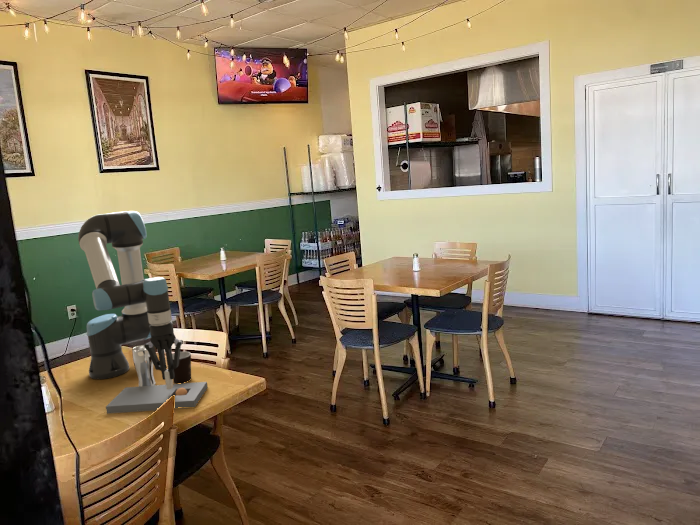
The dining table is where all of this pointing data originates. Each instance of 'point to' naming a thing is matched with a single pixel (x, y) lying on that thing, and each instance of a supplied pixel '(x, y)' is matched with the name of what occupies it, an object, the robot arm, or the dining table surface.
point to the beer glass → (143, 366)
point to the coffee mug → (183, 368)
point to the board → (155, 397)
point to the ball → (181, 391)
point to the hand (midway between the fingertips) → (170, 387)
